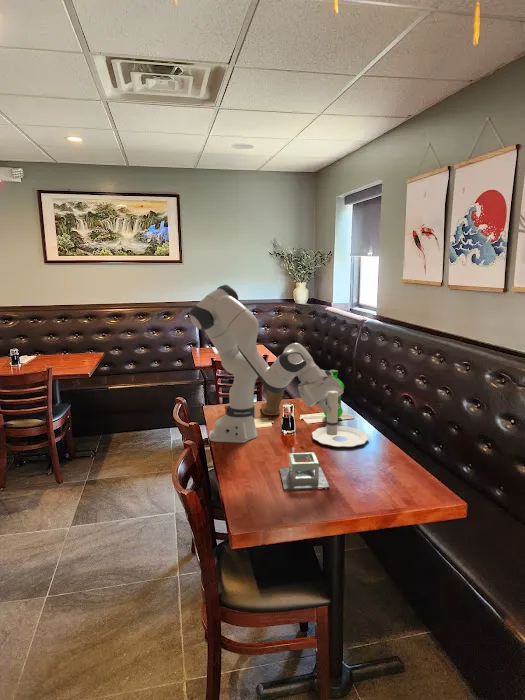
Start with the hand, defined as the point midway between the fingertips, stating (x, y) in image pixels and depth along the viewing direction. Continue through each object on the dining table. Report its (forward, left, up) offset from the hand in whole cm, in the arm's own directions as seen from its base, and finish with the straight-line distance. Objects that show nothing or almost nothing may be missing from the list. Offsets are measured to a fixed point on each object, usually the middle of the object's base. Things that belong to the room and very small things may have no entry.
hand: (333, 409), depth 165 cm
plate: (+10, +32, -25) cm, 42 cm away
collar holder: (-12, -6, -24) cm, 28 cm away
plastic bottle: (+13, +60, -25) cm, 66 cm away
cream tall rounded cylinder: (0, 0, -9) cm, 9 cm away
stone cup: (-17, +72, -25) cm, 78 cm away
